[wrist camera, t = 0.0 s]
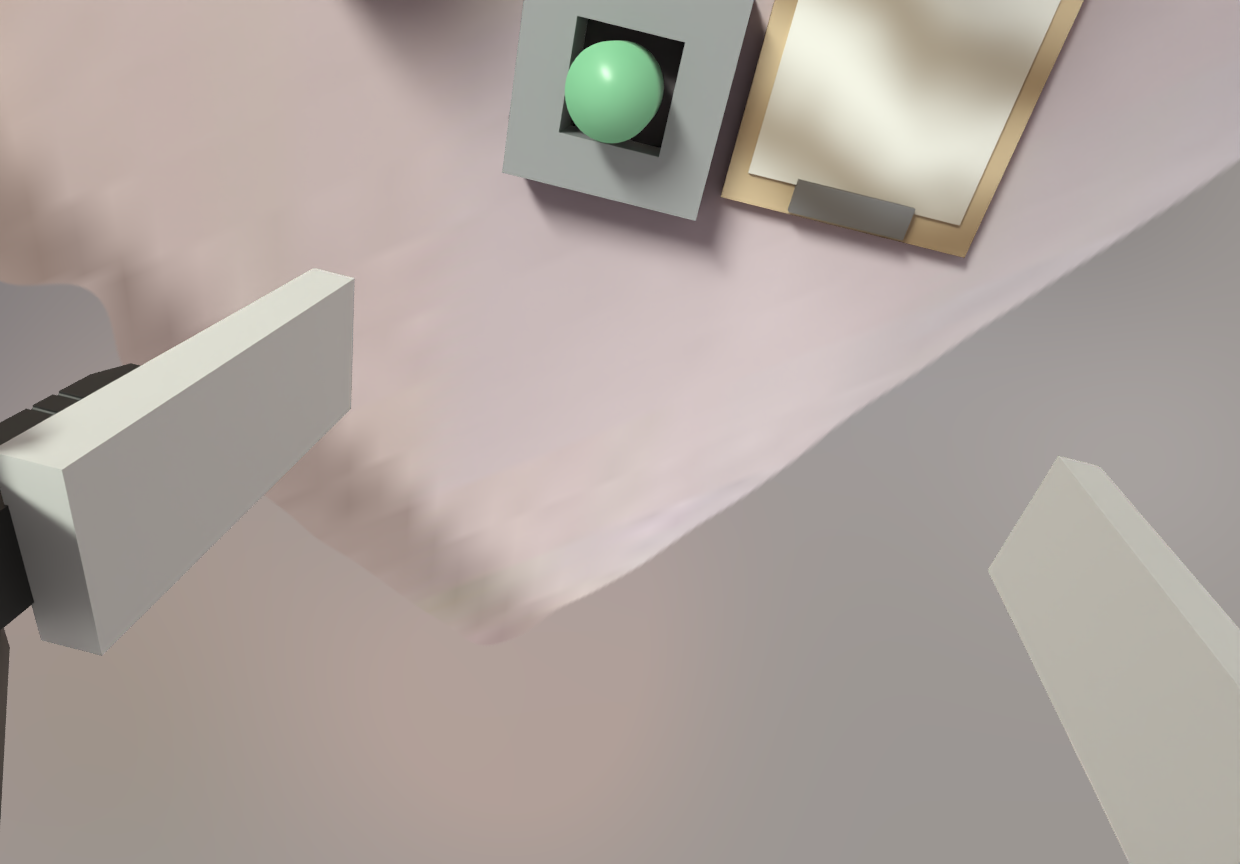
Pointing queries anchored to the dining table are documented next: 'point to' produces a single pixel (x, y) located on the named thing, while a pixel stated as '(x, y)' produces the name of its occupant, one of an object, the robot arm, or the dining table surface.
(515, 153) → the button base
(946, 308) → the dining table surface
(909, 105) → the clipboard
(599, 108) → the button
